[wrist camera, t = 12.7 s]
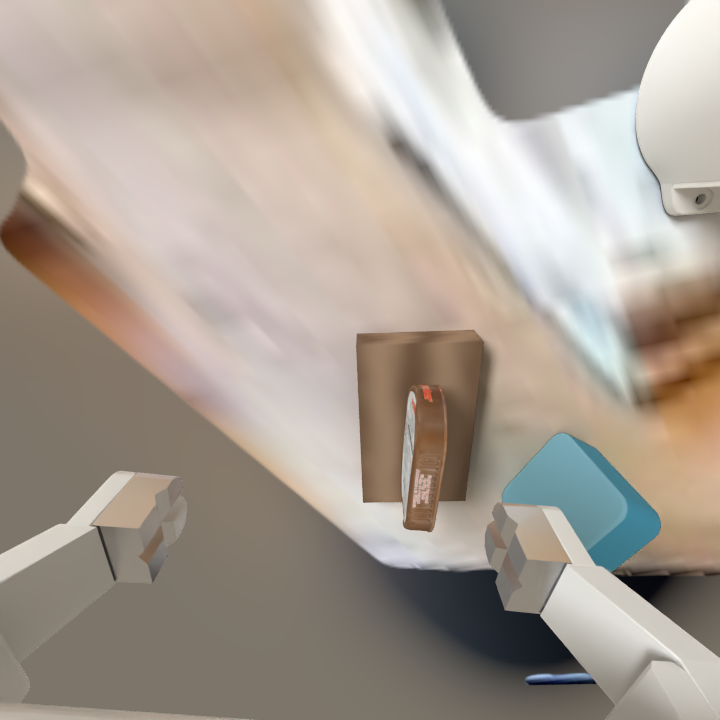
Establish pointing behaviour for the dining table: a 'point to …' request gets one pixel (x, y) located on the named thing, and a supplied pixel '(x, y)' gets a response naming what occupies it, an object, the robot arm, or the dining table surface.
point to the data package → (587, 499)
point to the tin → (423, 456)
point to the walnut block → (389, 401)
